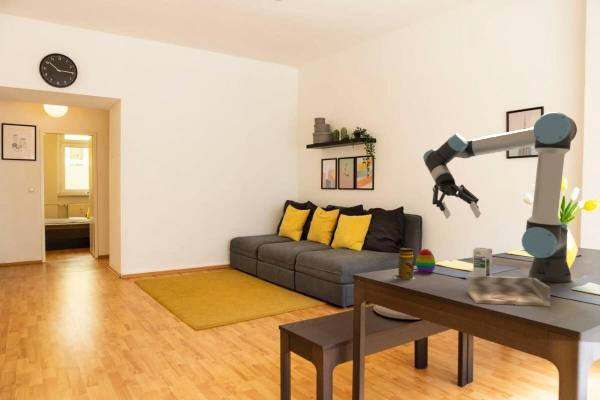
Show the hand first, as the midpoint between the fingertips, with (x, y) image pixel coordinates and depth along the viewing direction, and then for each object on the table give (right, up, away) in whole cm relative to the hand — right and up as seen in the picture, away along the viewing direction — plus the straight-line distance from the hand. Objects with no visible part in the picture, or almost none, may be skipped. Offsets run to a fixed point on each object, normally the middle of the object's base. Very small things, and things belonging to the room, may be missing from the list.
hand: (463, 216), depth 177 cm
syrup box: (+3, -26, -11) cm, 28 cm away
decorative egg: (-10, -25, +18) cm, 33 cm away
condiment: (-22, -26, +6) cm, 35 cm away
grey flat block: (+4, -27, -28) cm, 39 cm away
